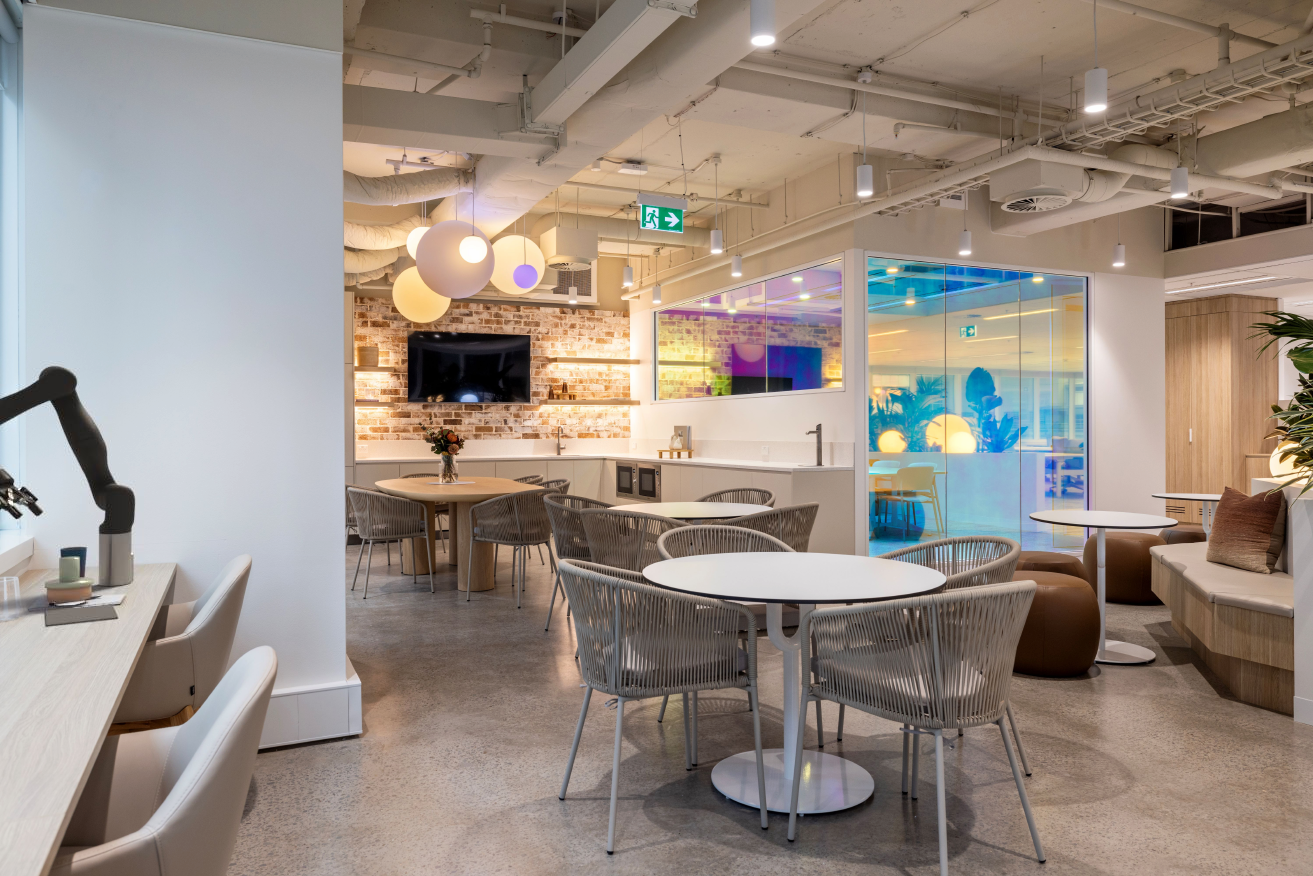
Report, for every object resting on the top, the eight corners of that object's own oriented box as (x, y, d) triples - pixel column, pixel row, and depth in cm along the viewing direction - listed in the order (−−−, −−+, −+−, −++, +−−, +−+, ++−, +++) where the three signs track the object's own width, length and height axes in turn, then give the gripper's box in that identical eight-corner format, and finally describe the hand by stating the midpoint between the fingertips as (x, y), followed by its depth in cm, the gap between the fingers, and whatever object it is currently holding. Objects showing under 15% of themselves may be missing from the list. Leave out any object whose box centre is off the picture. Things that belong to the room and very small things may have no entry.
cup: (92, 594, 262) (92, 547, 261) (74, 598, 255) (75, 550, 255) (72, 593, 262) (72, 546, 262) (54, 598, 256) (54, 549, 255)
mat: (45, 610, 239) (45, 609, 239) (111, 604, 248) (111, 602, 248) (46, 626, 221) (46, 624, 221) (118, 618, 231) (118, 617, 231)
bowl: (68, 598, 255) (68, 580, 255) (100, 600, 253) (100, 582, 253) (37, 606, 244) (37, 587, 244) (70, 608, 243) (70, 589, 242)
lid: (68, 580, 255) (68, 554, 255) (103, 582, 254) (103, 555, 254) (34, 588, 244) (34, 560, 243) (70, 589, 242) (70, 561, 242)
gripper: (-19, 469, 240) (22, 509, 241) (17, 466, 254) (55, 504, 255) (-38, 487, 240) (3, 527, 241) (-1, 483, 254) (37, 521, 255)
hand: (30, 515), depth 248 cm, fingers open, 8 cm apart
